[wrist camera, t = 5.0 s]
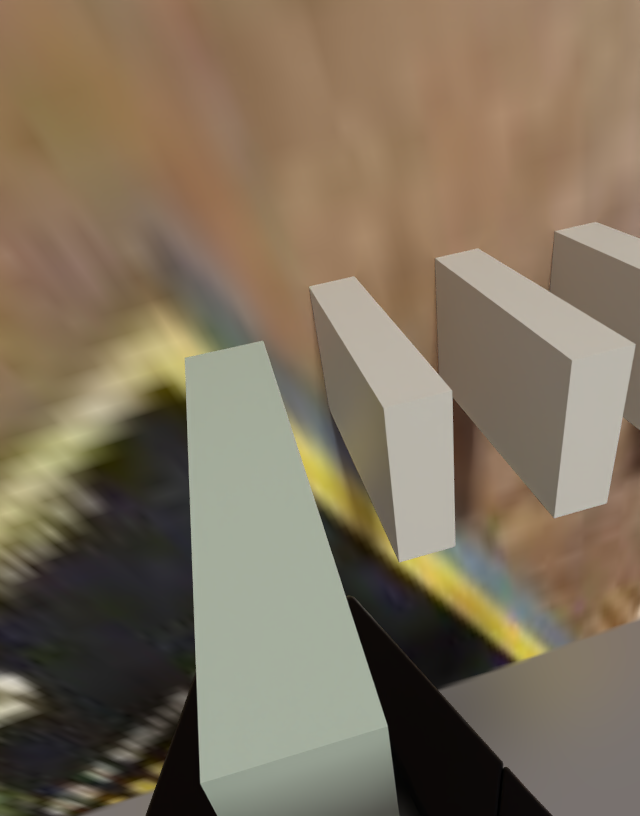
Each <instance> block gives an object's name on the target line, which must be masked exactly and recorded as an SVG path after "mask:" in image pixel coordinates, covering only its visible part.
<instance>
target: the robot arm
mask: <svg viewBox="0 0 640 816" xmlns="http://www.w3.org/2000/svg"><path fill="white" fill-rule="evenodd" d="M346 599H347V602H348V605H349V608H350V611H351V614H352V617H353V620H354V623H355V627H356V630H357V633H358V636H359V639H360V642H361V645H362V648H363V651H364V654H365V657H366V661H367V664H368V667H369V670H370V673H371V676H372V679H373V682H374V685H375V688H376V692H377V695H378V698H379V701H380V704H381V707H382V710H383V713H384V716H385V719H386V722H387V726H388V732H389V740H390V748H391V755H392V763H393V771H394V778H395V786H396V794H397V801H398V809H399V816H552V815H551V814H550V813H549V811H548V810H547V809H546V808H545V807H544V806H543V805H542V804H541V803H540V802H539V801H538V800H537V799H536V798H535V797H534V796H533V795H532V794H531V793H530V791H529V790H528V789H527V788H526V787H525V786H524V785H523V784H522V783H521V782H520V780H519V779H518V778H517V777H516V776H515V775H514V774H513V773H512V772H511V771H510V769H509V768H507V767H504V768H503V762H502V761H501V760H500V759H499V757H497V755H496V754H495V753H494V752H493V751H492V750H491V749H490V747H489V746H488V745H487V744H486V743H485V742H484V741H483V740H482V739H481V737H479V736H478V734H477V733H476V732H475V731H474V730H473V729H472V728H471V727H470V725H469V724H468V723H467V722H466V721H465V720H464V719H463V718H462V716H461V715H460V714H459V713H458V712H457V711H456V710H455V709H454V707H453V706H452V705H451V704H450V703H449V702H448V701H447V700H446V699H445V697H444V696H443V695H442V694H441V693H440V692H439V691H438V690H437V689H436V687H435V686H434V685H433V684H432V683H431V682H430V681H429V680H428V679H427V677H426V676H425V675H424V674H423V673H422V672H421V671H420V670H419V669H418V667H417V666H416V665H415V664H414V663H413V662H412V661H411V660H410V659H409V657H408V656H407V655H406V654H405V653H404V652H403V651H402V650H401V649H400V647H399V646H398V645H397V644H396V643H395V642H394V641H393V640H392V639H391V637H390V636H389V635H388V634H387V633H386V632H385V631H384V630H383V629H382V627H381V626H380V625H379V624H378V623H377V622H376V621H375V620H374V619H373V618H372V616H371V615H370V614H369V613H368V612H367V611H366V610H365V609H364V608H363V606H362V605H361V604H360V603H359V602H358V601H357V600H356V599H355V598H354V597H352V596H346ZM146 816H217V814H216V812H215V811H214V809H213V807H212V805H211V803H210V801H209V799H208V797H207V795H206V793H205V792H204V790H203V788H202V786H201V784H200V763H199V735H198V708H197V680H196V673H195V676H194V679H193V682H192V685H191V687H190V690H189V693H188V696H187V699H186V702H185V705H184V707H183V710H182V713H181V716H180V719H179V722H178V725H177V727H176V730H175V733H174V736H173V739H172V742H171V745H170V747H169V750H168V753H167V756H166V759H165V762H164V765H163V767H162V770H161V773H160V776H159V779H158V782H157V785H156V787H155V790H154V793H153V796H152V799H151V802H150V805H149V808H148V810H147V813H146Z"/></svg>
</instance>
